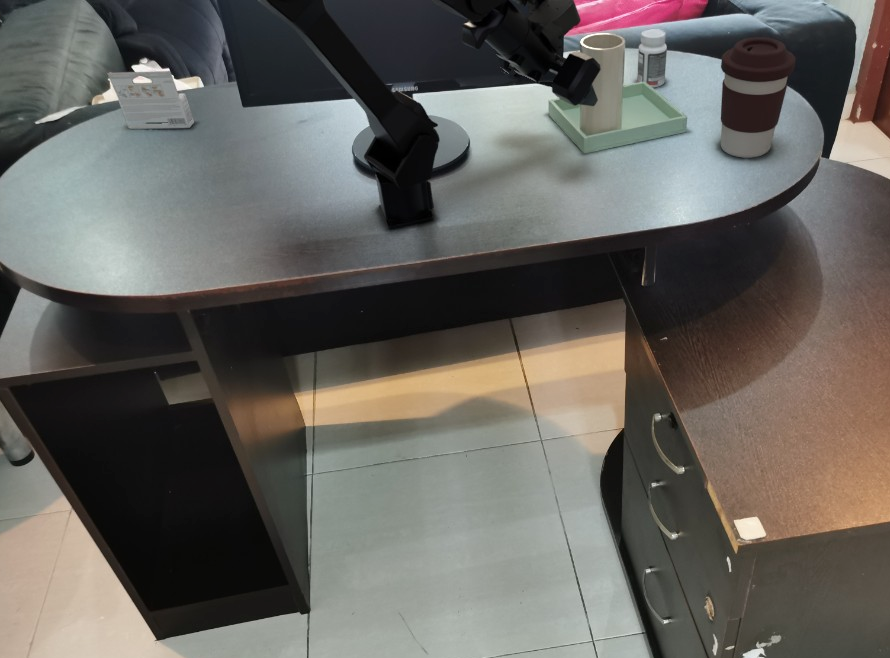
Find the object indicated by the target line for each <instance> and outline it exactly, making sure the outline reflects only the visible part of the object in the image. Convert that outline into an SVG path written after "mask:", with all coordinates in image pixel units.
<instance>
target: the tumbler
mask: <svg viewBox="0 0 890 658" xmlns="http://www.w3.org/2000/svg"><path fill="white" fill-rule="evenodd" d="M579 52H581V53H583V54H586V55H588V56H591V57H593V58H594V59H595V60H596V61H597V62H598V63H599V64H600V67H601V70H600V72H599V73H598V75H597V77H596V78H595V80H594V82H593V83H592V85H593V88H594V91H595V93H596V96H597V99H598V101H597V103H596V104H595V106H587V105H580V130H581V131H582V132H583V133H584V134H585V135H586V136H589V135H594V134H599V133H603V132H608V131H613V130H618V129H622V108H623V85H625V83H624V82H625V81H624V79H625V58H626V57H625V56H626V40H625V38H624V37H623V36H621V35H618V34H614V33H605V32H602V33H592V34H589V35H586V36H584V37H582V38H581V40H580V42H579Z"/></svg>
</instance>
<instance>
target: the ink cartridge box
mask: <svg viewBox="0 0 890 658" xmlns="http://www.w3.org/2000/svg"><path fill="white" fill-rule="evenodd" d="M106 75H107V76H108V79H109V81H110V83H111V86H112V87H113V90H114V92H115V94H116V97H117V99H118V104H119V106H120V109H121V112H122V114H123V115H122V116H123V117H124V120H125V122H126V121H138V122H168V123H162V124H127V123H126V125H127V126H126V127H127V128H128V129H129V130H147V129H149V130H152V129H155V130H156V129H190V128H191V127H192V126H193V125H194V124H195V120H194V117H193V114H192V111H191V107H190V104H189V102H188V99H187V95H186V93H179V92H178V89H177V86H176V83H175V81H174V78H173V75H172V72H171V70H163V71H162V70H161V71H160V70H159V71H124V72H122V71H121V72H119V71H117V72H107V73H106ZM138 77H143V78H145V79H148V80H150V81H151V82H134V80H135V79H137V78H138ZM191 119H192V120H191ZM190 120H191V121H190ZM170 122H171V123H170Z"/></svg>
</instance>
